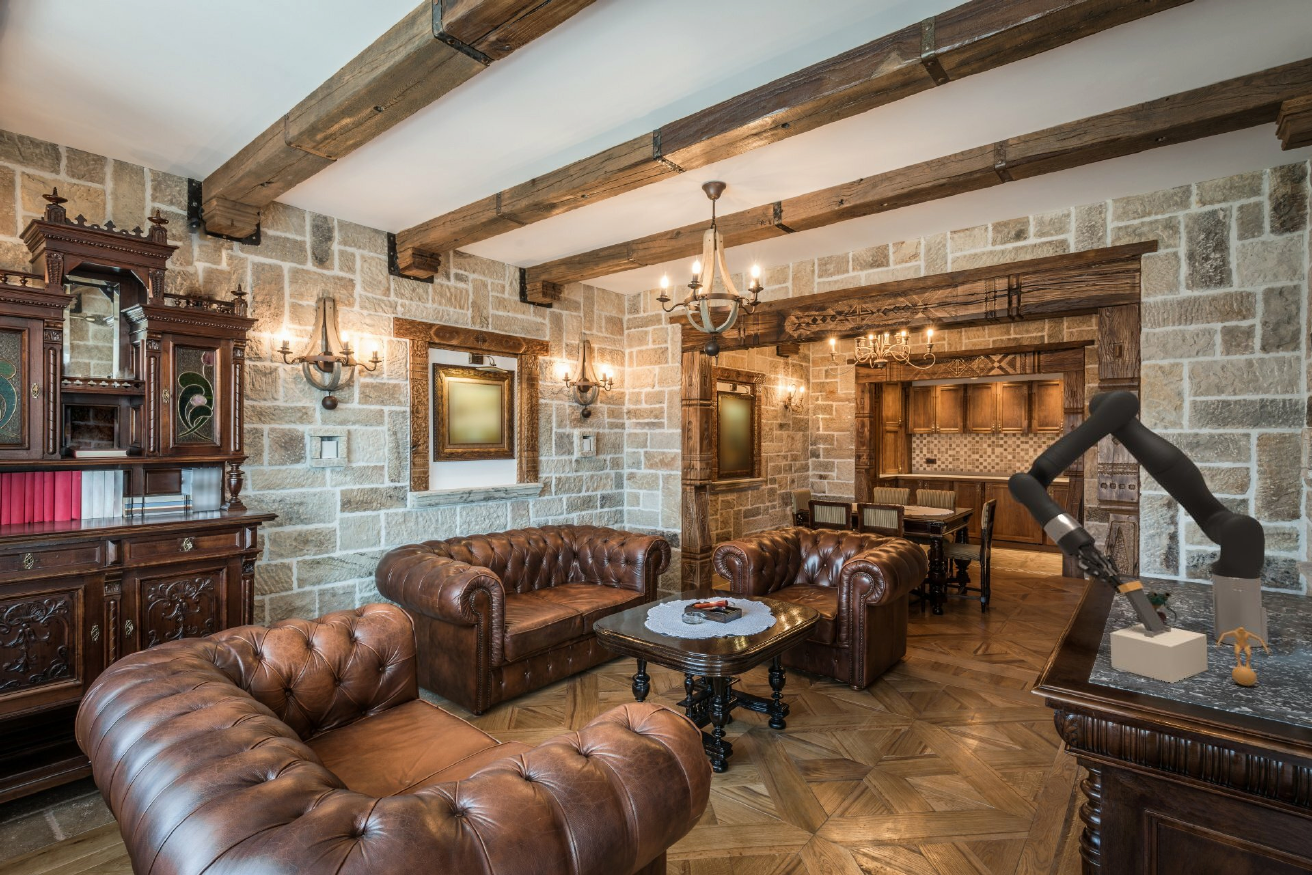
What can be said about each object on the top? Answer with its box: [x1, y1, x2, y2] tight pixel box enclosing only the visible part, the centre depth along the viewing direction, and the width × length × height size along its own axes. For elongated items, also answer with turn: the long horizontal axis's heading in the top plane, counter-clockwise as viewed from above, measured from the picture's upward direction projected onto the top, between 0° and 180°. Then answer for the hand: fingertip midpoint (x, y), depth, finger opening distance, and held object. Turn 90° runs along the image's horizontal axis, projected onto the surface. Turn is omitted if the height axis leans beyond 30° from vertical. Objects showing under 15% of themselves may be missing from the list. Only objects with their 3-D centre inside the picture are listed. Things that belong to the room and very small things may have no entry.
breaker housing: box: [1110, 622, 1209, 684], centre depth 146 cm, size 12×16×9 cm
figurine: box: [1216, 627, 1270, 687], centre depth 136 cm, size 8×6×12 cm
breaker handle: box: [1118, 580, 1166, 634], centre depth 148 cm, size 2×6×12 cm
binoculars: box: [1136, 590, 1178, 627], centre depth 178 cm, size 9×9×10 cm
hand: (1123, 591), depth 152 cm, fingers closed
